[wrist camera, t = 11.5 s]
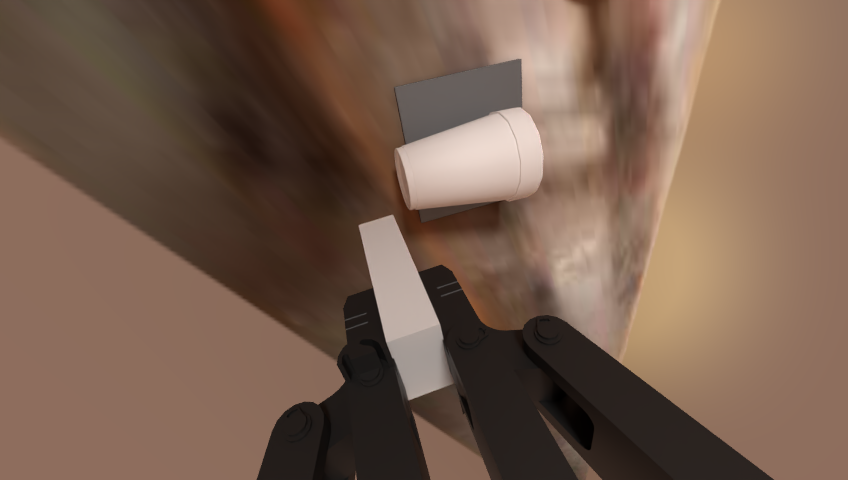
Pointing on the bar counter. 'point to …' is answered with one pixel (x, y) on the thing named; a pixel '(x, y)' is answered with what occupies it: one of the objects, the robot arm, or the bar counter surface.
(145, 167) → the bar counter surface
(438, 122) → the mat
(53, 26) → the bar counter surface
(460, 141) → the foam cup
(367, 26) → the bar counter surface
